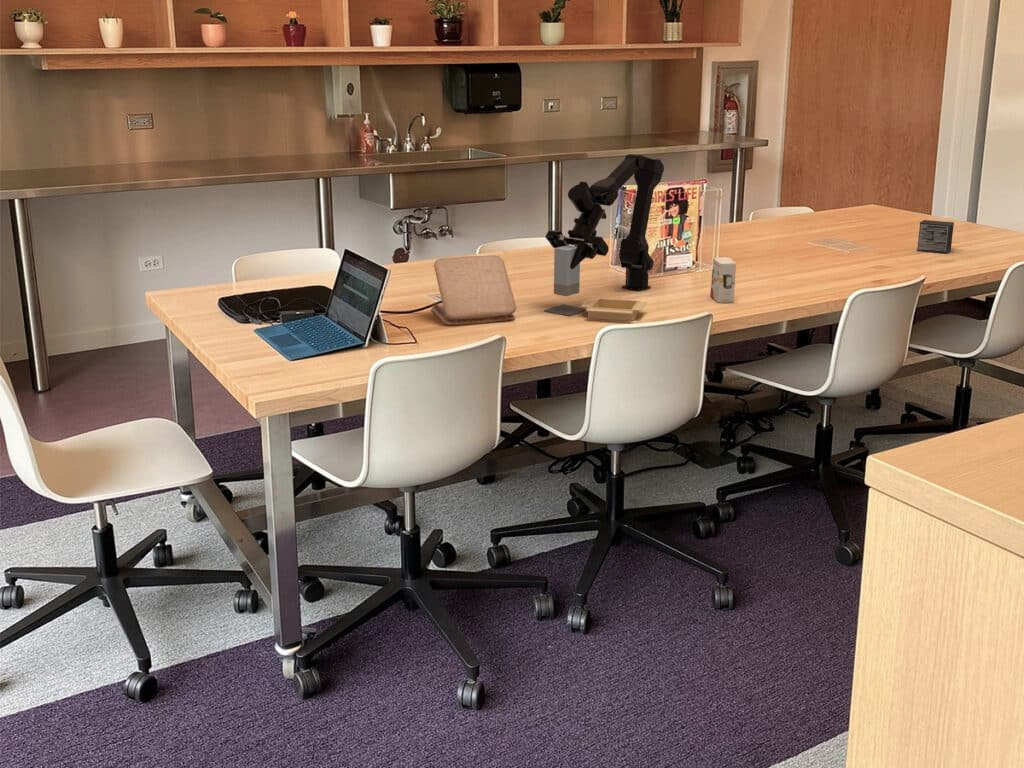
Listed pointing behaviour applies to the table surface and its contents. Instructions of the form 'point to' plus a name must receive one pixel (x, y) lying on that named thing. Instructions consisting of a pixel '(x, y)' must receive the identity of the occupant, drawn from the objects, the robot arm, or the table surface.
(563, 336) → the table surface
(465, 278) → the case
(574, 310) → the mat
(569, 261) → the slate box
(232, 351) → the table surface
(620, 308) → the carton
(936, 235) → the small box
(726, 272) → the ink box
